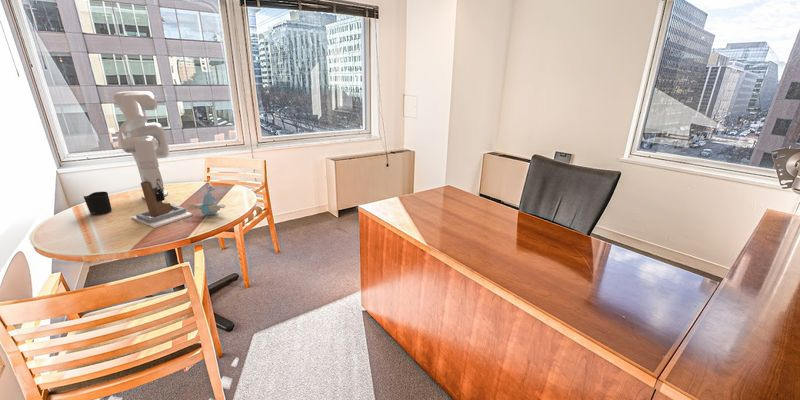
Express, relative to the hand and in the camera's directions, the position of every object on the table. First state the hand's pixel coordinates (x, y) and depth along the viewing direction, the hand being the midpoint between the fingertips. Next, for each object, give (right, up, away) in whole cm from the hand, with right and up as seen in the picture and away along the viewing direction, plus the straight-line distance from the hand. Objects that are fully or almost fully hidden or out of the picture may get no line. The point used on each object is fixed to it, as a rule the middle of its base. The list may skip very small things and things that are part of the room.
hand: (158, 199), depth 167 cm
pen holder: (-36, -7, +8) cm, 38 cm away
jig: (0, -9, +3) cm, 10 cm away
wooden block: (0, -8, +3) cm, 8 cm away
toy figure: (+23, -8, +7) cm, 25 cm away
